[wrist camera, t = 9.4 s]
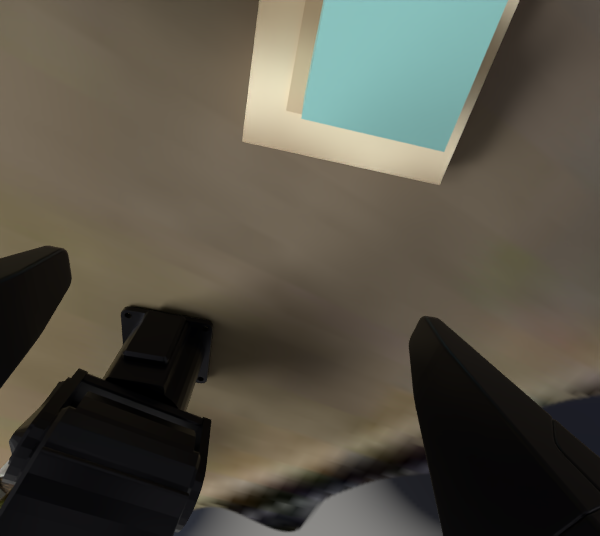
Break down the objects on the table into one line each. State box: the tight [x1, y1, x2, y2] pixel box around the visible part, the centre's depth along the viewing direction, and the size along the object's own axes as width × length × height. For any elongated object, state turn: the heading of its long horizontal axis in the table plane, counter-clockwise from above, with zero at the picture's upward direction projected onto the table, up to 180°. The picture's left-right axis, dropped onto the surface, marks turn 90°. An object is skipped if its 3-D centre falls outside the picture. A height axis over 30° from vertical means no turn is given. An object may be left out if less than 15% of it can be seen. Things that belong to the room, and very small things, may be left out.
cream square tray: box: [242, 0, 519, 185], centre depth 16 cm, size 10×10×3 cm
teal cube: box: [301, 0, 508, 152], centre depth 13 cm, size 5×5×5 cm
